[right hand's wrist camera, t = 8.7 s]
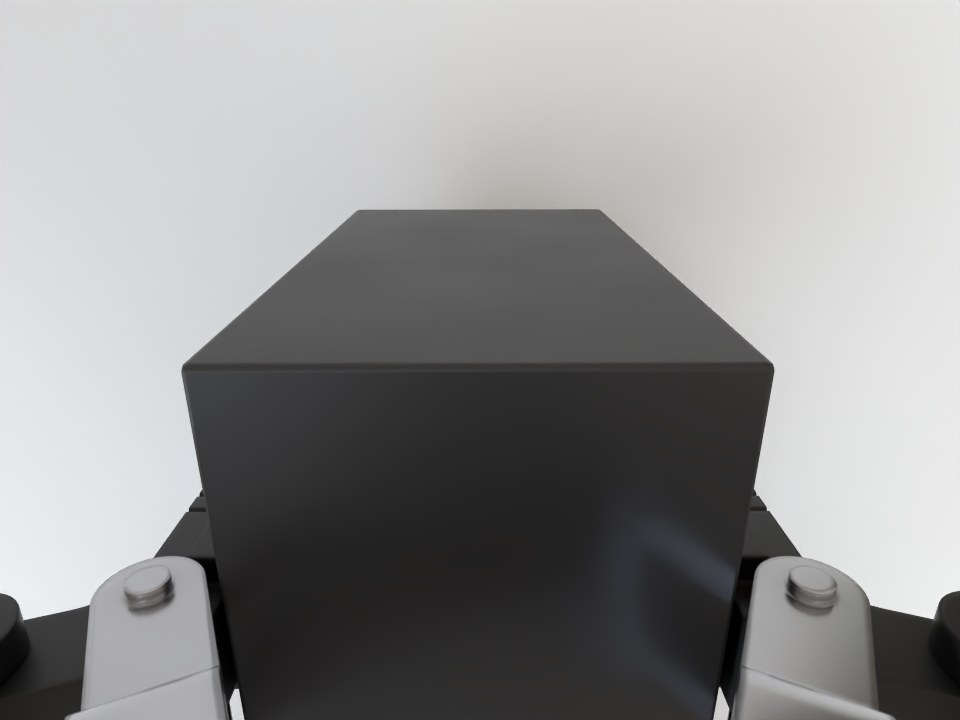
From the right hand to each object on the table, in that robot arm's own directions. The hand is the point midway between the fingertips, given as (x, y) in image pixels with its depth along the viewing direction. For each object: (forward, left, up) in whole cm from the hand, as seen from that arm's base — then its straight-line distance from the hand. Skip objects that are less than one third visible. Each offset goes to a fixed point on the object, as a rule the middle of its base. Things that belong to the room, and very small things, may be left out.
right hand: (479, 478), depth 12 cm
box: (+9, +3, -6) cm, 11 cm away
